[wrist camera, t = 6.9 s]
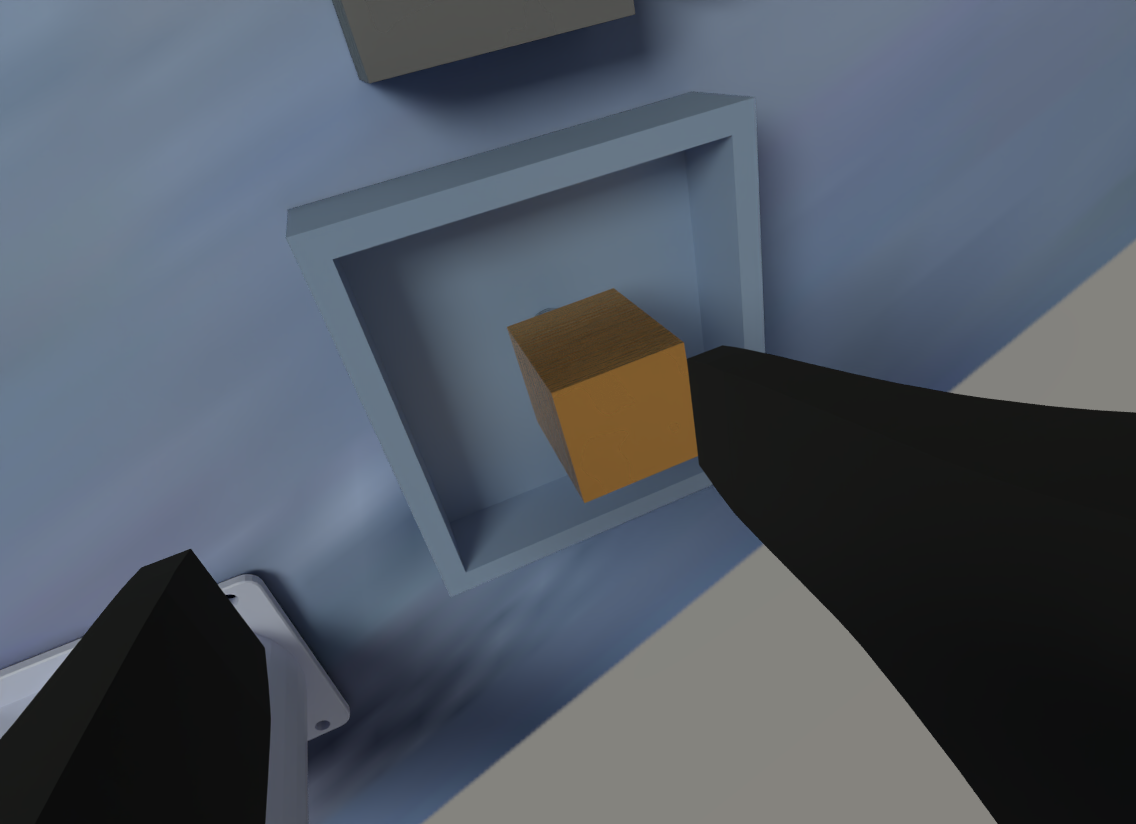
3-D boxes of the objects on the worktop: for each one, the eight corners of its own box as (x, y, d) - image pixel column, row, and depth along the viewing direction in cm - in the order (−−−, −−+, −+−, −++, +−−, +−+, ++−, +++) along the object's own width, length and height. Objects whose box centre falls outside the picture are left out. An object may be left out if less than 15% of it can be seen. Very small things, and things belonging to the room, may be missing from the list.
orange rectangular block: (517, 387, 20) (584, 503, 14) (488, 300, 18) (551, 393, 13) (605, 354, 20) (702, 454, 15) (584, 265, 19) (683, 342, 13)
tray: (433, 536, 22) (450, 597, 19) (287, 209, 16) (285, 237, 13) (721, 419, 24) (769, 460, 22) (692, 91, 18) (755, 96, 15)
